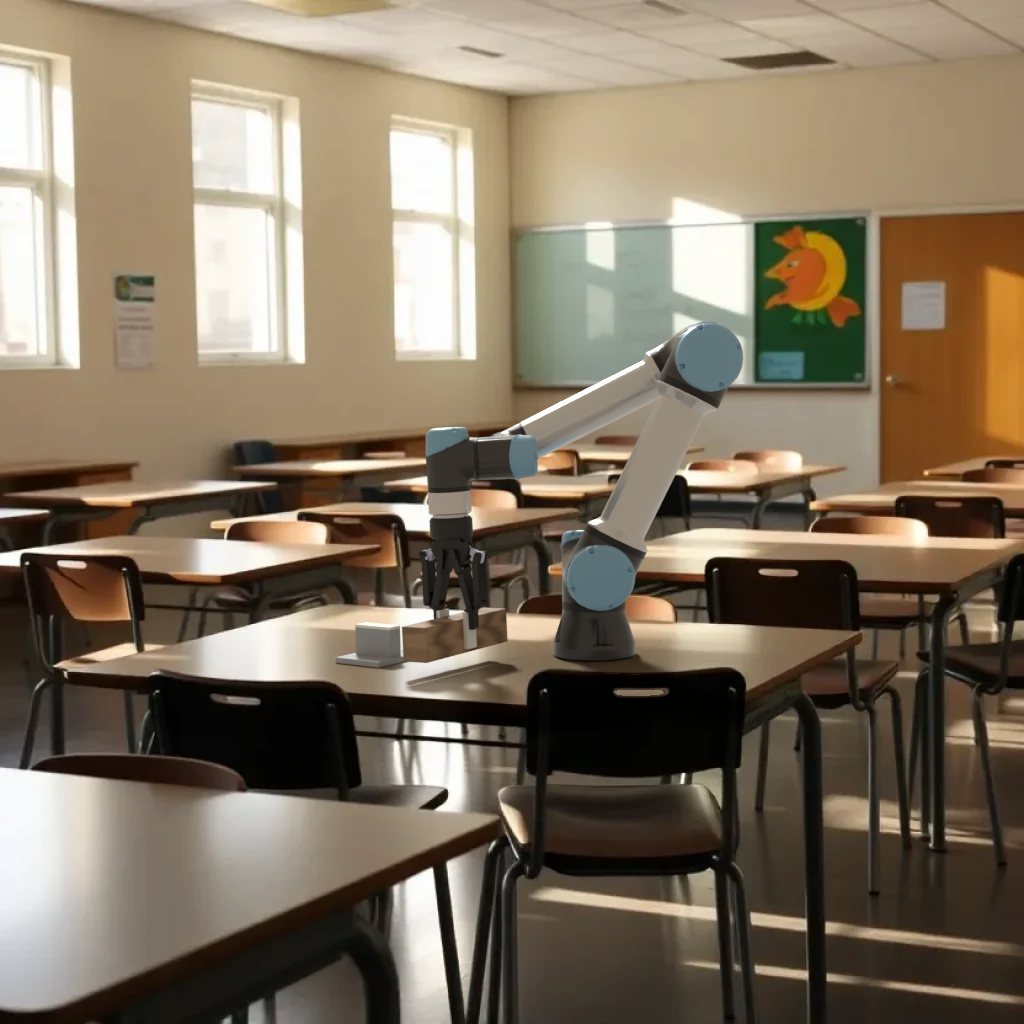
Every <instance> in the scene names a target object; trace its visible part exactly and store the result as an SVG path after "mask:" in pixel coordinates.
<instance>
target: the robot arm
mask: <svg viewBox="0 0 1024 1024" xmlns="http://www.w3.org/2000/svg"><path fill="white" fill-rule="evenodd" d="M743 364H744V351H743V347H742V344H741V341H740V339H739V338H738V337H737V335H736V334H735V333H734V332H733V331H732V330H731V329H730V328H728V327H726V326H725V325H723V324H720V323H717V322H714V321H700V322H697V323H695V324H692V325H689V326H686V327H684V328H682V329H681V330H680V331H678V332H677V333H675V335H673V336H672V337H670V338H669V339H667V340H666V341H664V342H662V343H661V344H660V345H658V346H657V347H655V348H652V349H651V350H649V351H646V352H645V354H644V358H643V359H642V360H641V361H639V362H637V363H635V364H633V365H631V366H629V367H626V368H625V369H624V370H620V371H619V372H618V373H615V374H613V375H611V376H609V377H607V378H605V379H603V380H601V381H599V382H598V383H596V384H593V385H592V386H589V387H587V388H585V389H583V390H582V391H579V392H578V393H575V394H573V395H571V396H570V397H567V398H566V399H564V400H562V401H559V402H558V403H555V404H554V405H552V406H549V407H548V408H546V409H543V410H542V411H539V412H538V413H536V414H534V415H531V416H530V417H528V418H526V419H524V420H522V421H520V422H519V423H517V424H514V425H512V426H510V427H508V428H506V429H504V430H502V431H499V432H496V433H494V434H492V435H490V436H483V437H472V436H470V435H469V431H468V429H467V428H466V427H465V426H449V427H447V426H446V427H444V426H443V427H435V428H431V429H428V431H427V432H426V433H425V464H426V465H425V467H426V480H427V481H426V482H427V503H428V514H429V515H430V516H432V517H430V519H429V534H430V539H432V542H431V546H430V548H428V549H423V550H420V551H419V552H418V557H419V560H420V563H421V564H420V565H421V577H422V578H421V581H422V601H423V602H422V604H423V606H424V607H429V608H431V609H432V611H433V619H437V618H441V617H445V616H450V608H448V605H447V604H446V603H447V597H448V596H447V595H448V589H449V584H450V577H451V573H452V572H453V571H454V574H455V575H456V577H457V579H458V582H459V583H458V584H459V586H460V587H459V588H460V591H461V595H462V599H463V603H464V606H465V607H464V608H465V609H463V611H462V612H461V613H462V614H463V631H464V649H471V648H474V647H477V638H476V629H478V628H479V616H478V611H479V609H481V608H487V606H488V604H489V603H488V602H489V600H488V585H487V583H488V582H487V571H486V564H487V558H488V552H487V551H486V550H478V549H477V548H475V546H474V544H473V542H472V538H473V535H474V528H473V526H474V525H473V517H472V516H471V515H469V514H470V513H471V512H472V493H471V490H472V489H471V487H472V486H471V481H480V480H482V481H483V480H484V481H485V480H487V481H488V480H507V479H509V480H510V479H517V480H521V479H525V478H534V477H535V476H537V474H538V470H539V463H538V461H539V460H540V459H541V458H543V457H545V456H547V455H549V454H551V453H554V452H555V451H558V450H559V449H561V448H564V447H566V446H567V445H569V444H571V443H573V442H576V441H578V440H579V439H582V438H583V437H585V436H587V435H589V434H591V433H594V432H595V431H597V430H601V429H602V428H603V427H606V426H608V425H610V424H611V423H614V422H616V421H618V420H620V419H621V418H623V417H625V416H628V415H630V414H631V413H634V412H636V411H637V410H640V409H641V408H643V407H646V406H648V405H650V404H652V403H655V404H654V406H653V409H652V410H651V413H650V415H648V418H647V420H646V423H645V424H644V427H643V428H642V430H641V433H640V435H639V437H638V439H637V441H636V443H635V444H634V447H633V449H632V450H631V451H632V452H631V453H630V455H629V458H628V460H627V461H626V463H625V465H624V468H623V470H622V472H621V474H620V476H619V478H618V480H617V482H616V483H615V485H614V488H613V490H612V492H611V494H610V496H609V498H608V501H607V502H606V504H605V506H604V508H603V510H602V512H601V515H600V516H599V517H597V518H595V519H592V520H588V522H587V524H586V525H585V527H584V529H582V530H581V529H577V530H567V531H565V532H563V534H562V536H561V544H560V551H561V596H562V597H561V599H562V600H561V601H562V602H561V603H562V604H561V605H562V608H561V609H562V610H561V611H562V612H561V617H560V620H559V623H558V626H557V629H556V632H555V633H556V634H555V635H554V640H553V645H552V647H553V648H552V649H553V651H552V652H553V656H554V657H556V658H561V659H565V660H573V661H574V660H575V661H593V662H594V661H612V660H621V659H628V658H631V657H634V656H635V655H636V641H635V639H634V635H633V631H632V629H631V625H630V622H629V619H628V617H627V612H626V610H627V609H626V600H627V599H629V597H630V596H631V594H632V592H633V590H634V587H635V583H636V575H637V574H638V571H639V569H640V567H641V565H642V563H643V561H644V560H645V557H646V555H647V553H648V548H647V544H646V541H645V538H646V535H647V533H648V531H649V529H650V527H651V525H652V523H653V522H654V519H655V517H656V515H657V513H658V511H659V509H660V507H661V505H662V502H663V501H664V499H665V496H666V494H667V492H668V491H669V490H670V489H669V488H670V486H671V485H672V483H673V481H674V479H675V476H676V474H677V473H678V470H679V469H680V467H681V465H682V462H683V461H684V458H685V456H686V454H687V452H688V450H689V448H690V446H691V444H692V442H693V440H694V438H695V436H696V435H697V432H698V430H699V428H700V426H701V424H702V422H703V421H704V420H703V419H704V417H705V416H706V415H708V414H711V413H714V412H717V411H718V409H719V406H720V404H721V403H722V402H723V399H724V397H725V395H726V393H727V391H728V389H729V387H730V386H732V384H733V383H735V381H736V379H738V377H740V373H741V372H742V368H743Z"/></svg>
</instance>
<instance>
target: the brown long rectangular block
mask: <svg viewBox="0 0 1024 1024" xmlns="http://www.w3.org/2000/svg"><path fill="white" fill-rule="evenodd" d="M478 616H479V628H478V629H476V638H477V647H474V648H471V649H464V631H463V614H462V612H459V613H454V614H451V615H450V614H449V616H445V617H441V618H437V619H434V618H433V619H429V620H425V621H420V622H417V623H416V622H415V623H412V624H408V625H404V626H401V634H402V635H401V636H402V637H401V638H402V651H403V658H404V661H405V662H407V663H408V662H409V663H418V664H419V663H420V664H421V663H423V664H429V663H432V662H436V661H439V660H443V659H447V658H451V657H455V656H458V655H463V654H465V653H469V652H474V651H477V650H482V649H484V648H489V647H492V646H495V645H500V644H502V643H503V644H504V643H507V642H508V641H509V640H508V639H509V638H508V626H507V625H508V622H507V608H504V607H503V608H500V607H498V608H497V607H483V608H481V609H479V611H478ZM405 662H404V663H405Z"/></svg>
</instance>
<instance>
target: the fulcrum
mask: <svg viewBox="0 0 1024 1024" xmlns="http://www.w3.org/2000/svg"><path fill="white" fill-rule="evenodd" d="M354 626H355V627H354V628H355V652H354V653H349V654H345V655H339V656H335V663H336V664H344V665H350V666H351V665H352V666H360V667H369V668H370V667H371V668H378V669H379V668H383V667H387V666H391V665H395V664H399V663H400V664H401V663H405V661H404V658H403V649H402V650H401V625H399V624H388V623H377V622H368V621H367V622H366V621H365V622H361V623H356V624H355V625H354Z"/></svg>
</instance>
